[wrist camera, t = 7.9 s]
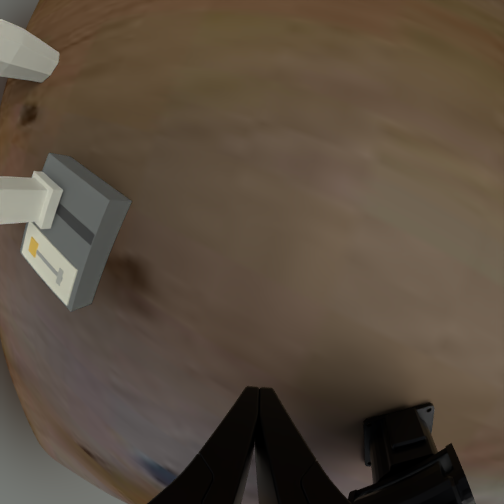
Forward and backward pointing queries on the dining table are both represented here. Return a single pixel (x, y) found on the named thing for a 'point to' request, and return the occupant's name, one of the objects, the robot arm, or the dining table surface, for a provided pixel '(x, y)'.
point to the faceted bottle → (24, 54)
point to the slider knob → (29, 199)
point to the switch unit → (75, 232)
